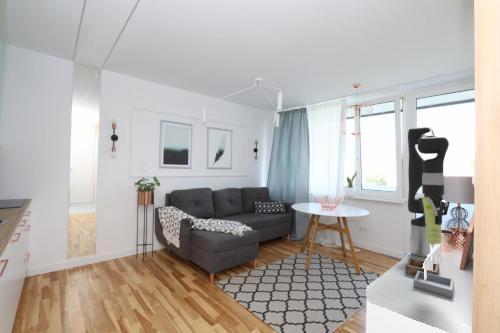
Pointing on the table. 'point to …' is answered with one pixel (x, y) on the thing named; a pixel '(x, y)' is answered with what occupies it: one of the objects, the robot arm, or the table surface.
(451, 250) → the table surface
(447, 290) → the tray
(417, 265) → the wooden picture frame
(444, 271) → the table surface
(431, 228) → the tube
